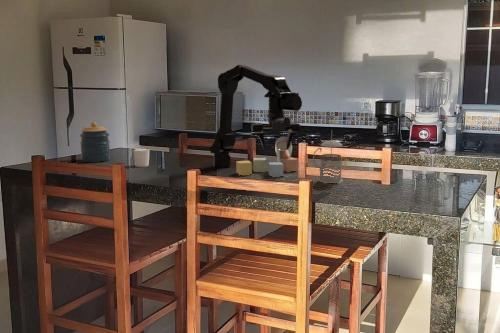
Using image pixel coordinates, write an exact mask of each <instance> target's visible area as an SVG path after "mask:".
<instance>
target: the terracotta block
mask: <svg viewBox="0 0 500 333" xmlns="http://www.w3.org/2000/svg"><path fill="white" fill-rule="evenodd" d="M298 162H299V159H298V158H294V157H291V158H281V163H282V164H283V172H285V171H286V172H285V173H291V172H290V171H296V172H298V170H299V169H298V167H299V166H298V164H299V163H298Z"/></svg>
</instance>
